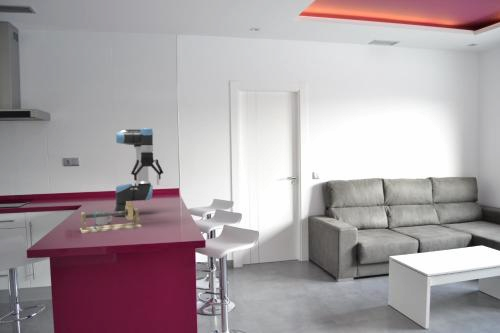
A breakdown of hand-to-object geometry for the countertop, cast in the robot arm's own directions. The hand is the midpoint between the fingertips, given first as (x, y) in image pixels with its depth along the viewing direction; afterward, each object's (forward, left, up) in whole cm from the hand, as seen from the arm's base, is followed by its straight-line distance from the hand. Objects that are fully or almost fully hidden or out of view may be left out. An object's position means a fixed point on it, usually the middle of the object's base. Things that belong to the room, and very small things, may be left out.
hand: (147, 185), depth 246 cm
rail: (0, -23, -26) cm, 34 cm away
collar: (0, -12, -21) cm, 24 cm away
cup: (-19, -24, -26) cm, 40 cm away
